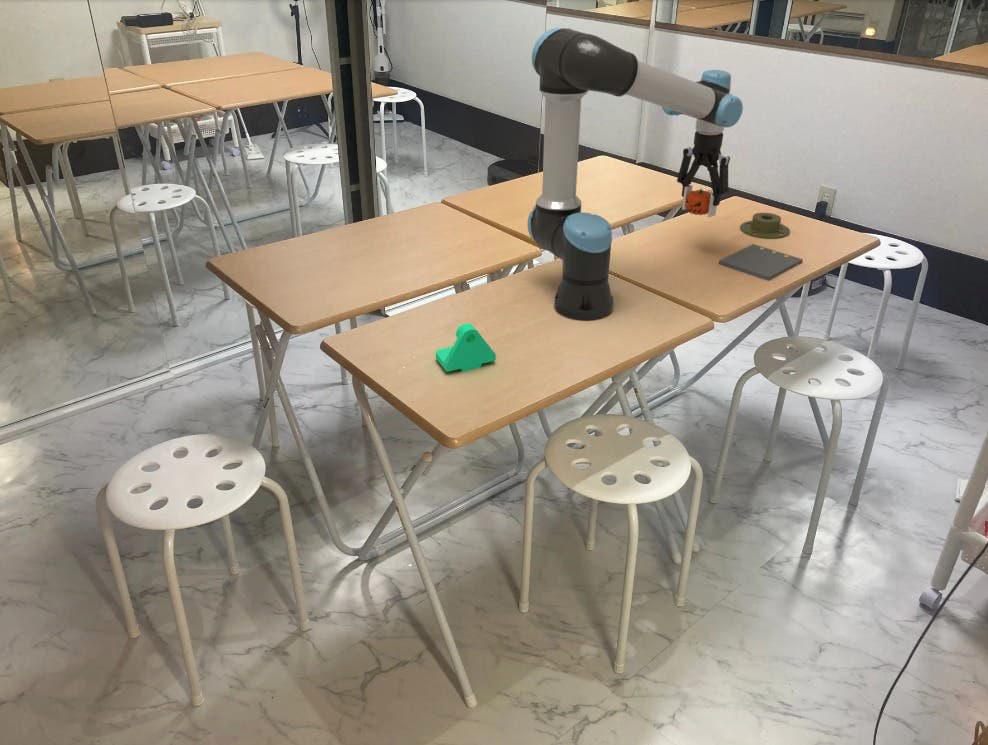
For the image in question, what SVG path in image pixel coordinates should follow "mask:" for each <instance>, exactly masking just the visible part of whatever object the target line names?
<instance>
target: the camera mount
mask: <svg viewBox="0 0 988 745" xmlns="http://www.w3.org/2000/svg"><path fill="white" fill-rule="evenodd" d="M455 336H456V340H455V341H454V344H453V345H452V346H448V347H443V348H439V349H436V350H435V359H436V360H437V362H438V363H439V364H440V365H441V367H442V368H443V369H444V370H445V372H447V373H448V372H452V371H457V370H460V371H461V372H462V373H463V372H467V371H471V370H477V369H480V368H482V364H487V363H490V362H494V361H497V355H496V353H495V351H494V350H493V349H492V348H491V346H490V345H489V343H488V342H487V341H486V340H485V339H484V338H483V336H482V334H480V333H479V331H478V330H477V329H476V327H474V326H473V325H472V324H471V323H469V322H466V323H461V324H460V325H459V326H458V328H456V332H455Z"/></svg>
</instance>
